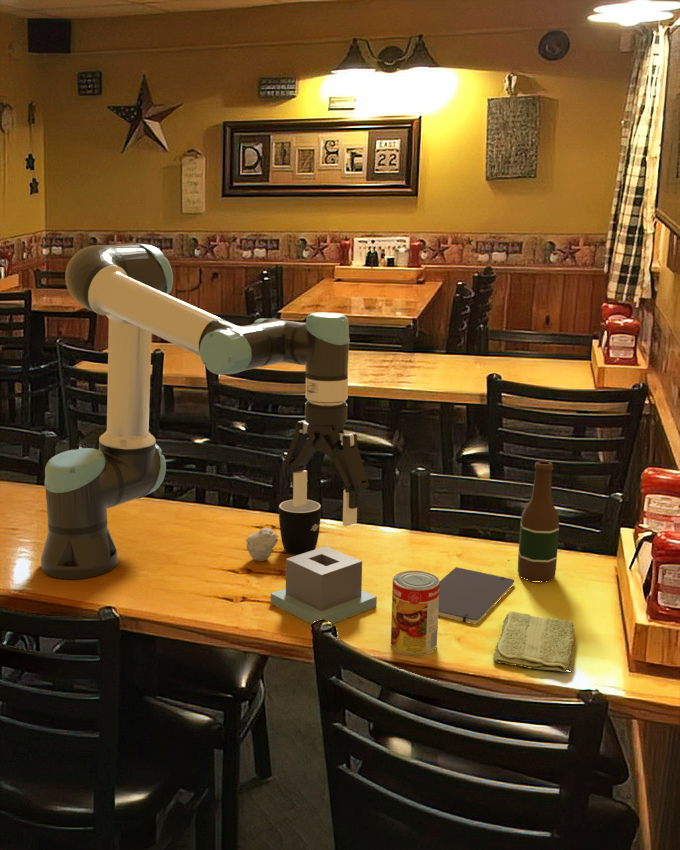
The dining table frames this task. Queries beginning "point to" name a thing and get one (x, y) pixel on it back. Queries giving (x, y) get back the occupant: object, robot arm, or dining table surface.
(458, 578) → the notebook
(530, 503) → the beer bottle
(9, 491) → the dining table surface
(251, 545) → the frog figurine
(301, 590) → the slotted gray box
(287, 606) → the base
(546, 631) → the washcloth
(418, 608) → the canned food
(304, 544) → the mug
